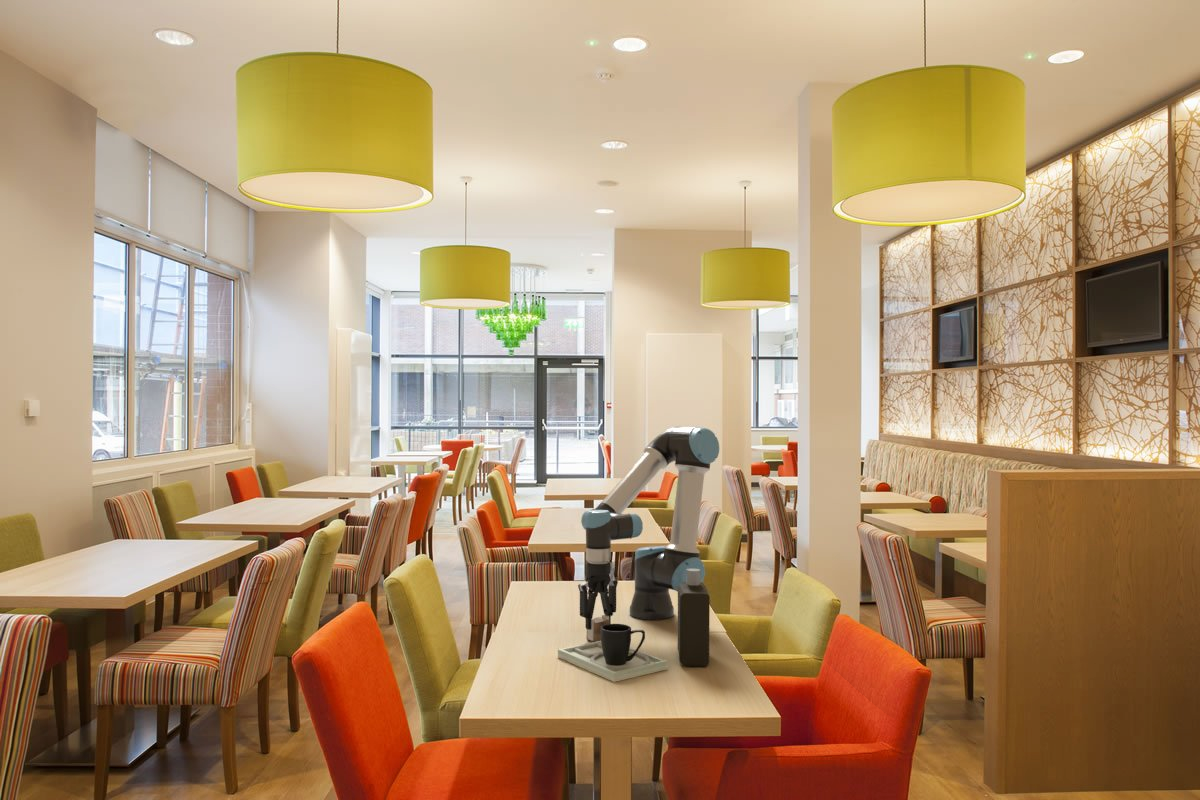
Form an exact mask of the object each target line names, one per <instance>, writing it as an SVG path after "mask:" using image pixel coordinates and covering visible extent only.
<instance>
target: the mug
mask: <svg viewBox="0 0 1200 800" xmlns="http://www.w3.org/2000/svg"><path fill="white" fill-rule="evenodd" d="M637 633H641V636H642V637H641V639H640V641H639V644H638V646H637V647H636V648H635V649H636V650H635V651H634V653H633V654H631V655H629V656H628V653H629V649H630V647H631V642H632V635H633V634H637ZM645 639H646V632H645V630H644V629H632V627H631V626H629V625H628V624H623V623H611V624H607V625H604V626H602V627H601V645H602V650H603V654H604V658H605V662H606V664H608V665H613V666H620V665H624V664H625V663H626V661H630V660H632V659H633V657H634V656H635V655H636V653H637V651H638V650H639V651H640V648H641V647H642V645H643V643H644V642H645Z"/></svg>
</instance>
